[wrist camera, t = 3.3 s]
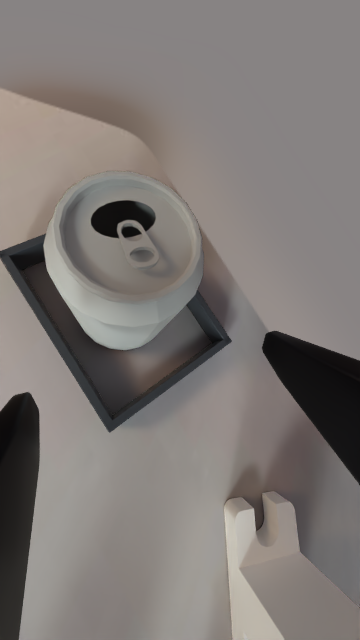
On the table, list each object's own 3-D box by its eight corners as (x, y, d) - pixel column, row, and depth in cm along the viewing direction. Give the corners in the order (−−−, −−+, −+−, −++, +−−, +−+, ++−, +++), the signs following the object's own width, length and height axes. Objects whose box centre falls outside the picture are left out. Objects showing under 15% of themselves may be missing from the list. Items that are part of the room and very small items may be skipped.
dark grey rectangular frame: (220, 345, 23) (232, 341, 20) (109, 426, 19) (109, 433, 16) (134, 216, 23) (136, 198, 21) (10, 267, 19) (-4, 252, 17)
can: (147, 261, 23) (180, 146, 11) (176, 334, 22) (243, 286, 10) (66, 282, 20) (4, 162, 9) (94, 365, 19) (66, 347, 8)
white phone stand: (233, 656, 17) (376, 990, 8) (223, 500, 19) (324, 614, 10) (294, 633, 19) (477, 894, 9) (278, 490, 21) (412, 582, 11)
